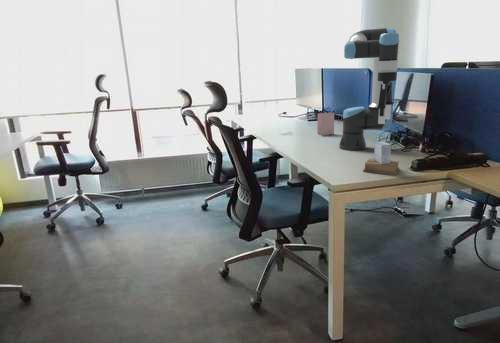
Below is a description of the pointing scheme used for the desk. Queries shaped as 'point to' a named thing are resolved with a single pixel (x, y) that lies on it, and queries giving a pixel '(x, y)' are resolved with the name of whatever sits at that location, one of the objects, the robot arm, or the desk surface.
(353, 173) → the desk surface
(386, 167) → the plinth
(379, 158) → the medicine box
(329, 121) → the pink rectangular block
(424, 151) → the desk surface
